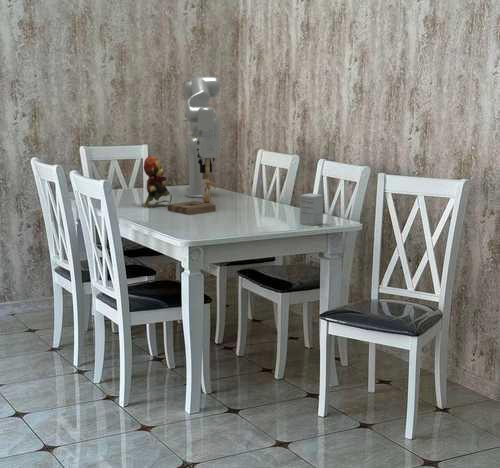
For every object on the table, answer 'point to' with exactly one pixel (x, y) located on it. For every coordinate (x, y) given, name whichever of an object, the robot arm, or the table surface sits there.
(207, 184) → the figurine
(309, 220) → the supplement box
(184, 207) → the socket block
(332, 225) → the table surface
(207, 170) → the peg
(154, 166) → the red green tall figure
